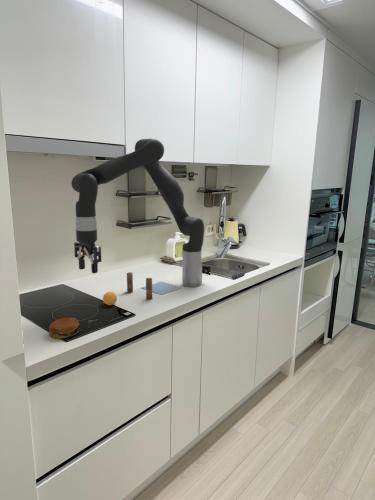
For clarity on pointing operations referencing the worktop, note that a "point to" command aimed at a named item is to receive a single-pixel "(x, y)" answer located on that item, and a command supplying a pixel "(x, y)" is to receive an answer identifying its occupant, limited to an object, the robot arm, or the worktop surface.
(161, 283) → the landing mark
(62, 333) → the burger
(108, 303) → the ball
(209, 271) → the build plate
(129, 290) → the post
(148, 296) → the post
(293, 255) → the worktop surface
